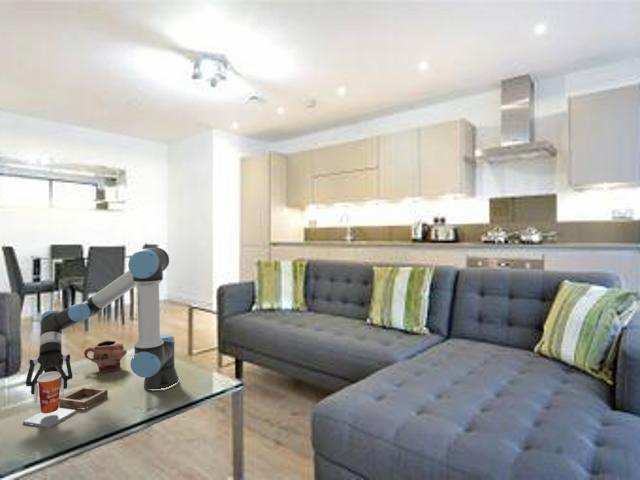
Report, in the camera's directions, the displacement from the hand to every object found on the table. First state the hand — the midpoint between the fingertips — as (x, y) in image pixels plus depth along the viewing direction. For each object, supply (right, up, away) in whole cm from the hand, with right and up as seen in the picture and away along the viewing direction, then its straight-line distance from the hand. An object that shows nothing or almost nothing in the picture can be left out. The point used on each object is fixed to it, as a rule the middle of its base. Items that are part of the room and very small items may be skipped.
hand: (49, 399), depth 149 cm
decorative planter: (-7, -6, +53) cm, 54 cm away
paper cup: (-2, -6, +3) cm, 7 cm away
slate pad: (-2, -9, +3) cm, 9 cm away
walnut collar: (+3, -8, +18) cm, 20 cm away
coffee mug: (-26, -7, +43) cm, 51 cm away
